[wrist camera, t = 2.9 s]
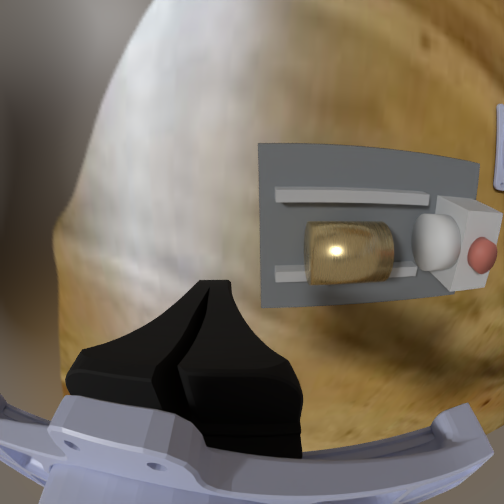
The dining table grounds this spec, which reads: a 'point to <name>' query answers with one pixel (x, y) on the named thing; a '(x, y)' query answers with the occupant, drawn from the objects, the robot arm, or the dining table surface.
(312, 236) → the brass fitting
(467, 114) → the dining table surface
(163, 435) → the robot arm
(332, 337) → the dining table surface
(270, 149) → the valve board
